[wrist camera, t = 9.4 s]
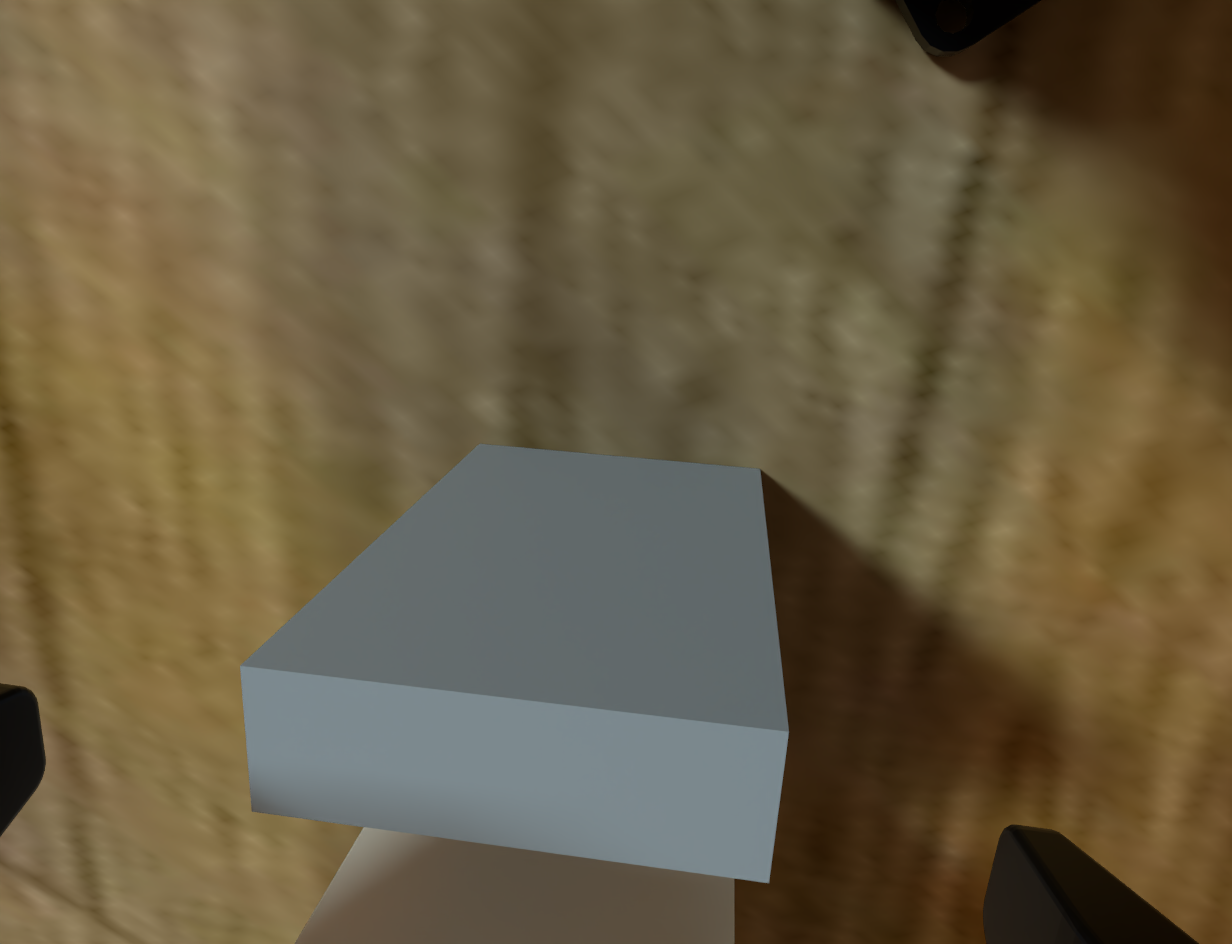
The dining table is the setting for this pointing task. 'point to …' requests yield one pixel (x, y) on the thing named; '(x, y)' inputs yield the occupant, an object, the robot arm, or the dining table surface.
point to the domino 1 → (542, 669)
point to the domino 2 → (511, 897)
